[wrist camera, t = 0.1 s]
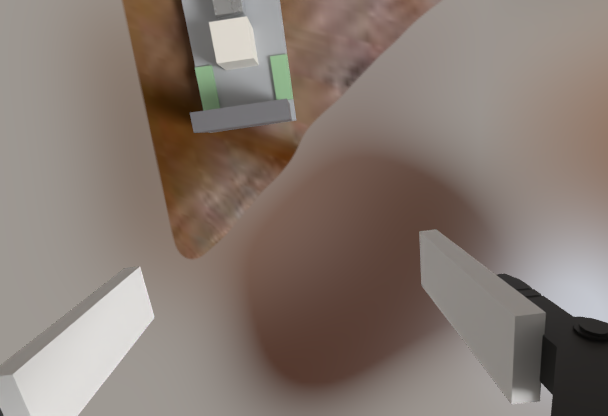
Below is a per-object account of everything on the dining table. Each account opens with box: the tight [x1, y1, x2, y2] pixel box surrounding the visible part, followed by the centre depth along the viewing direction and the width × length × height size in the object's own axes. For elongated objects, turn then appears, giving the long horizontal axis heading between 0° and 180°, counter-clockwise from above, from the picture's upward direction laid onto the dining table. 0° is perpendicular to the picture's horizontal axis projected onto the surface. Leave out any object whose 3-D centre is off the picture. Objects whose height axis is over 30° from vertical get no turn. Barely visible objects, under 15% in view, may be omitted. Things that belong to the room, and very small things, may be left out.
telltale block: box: [209, 16, 259, 70], centre depth 35 cm, size 4×4×4 cm
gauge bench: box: [182, 0, 296, 133], centre depth 34 cm, size 19×11×8 cm, turn 8°
